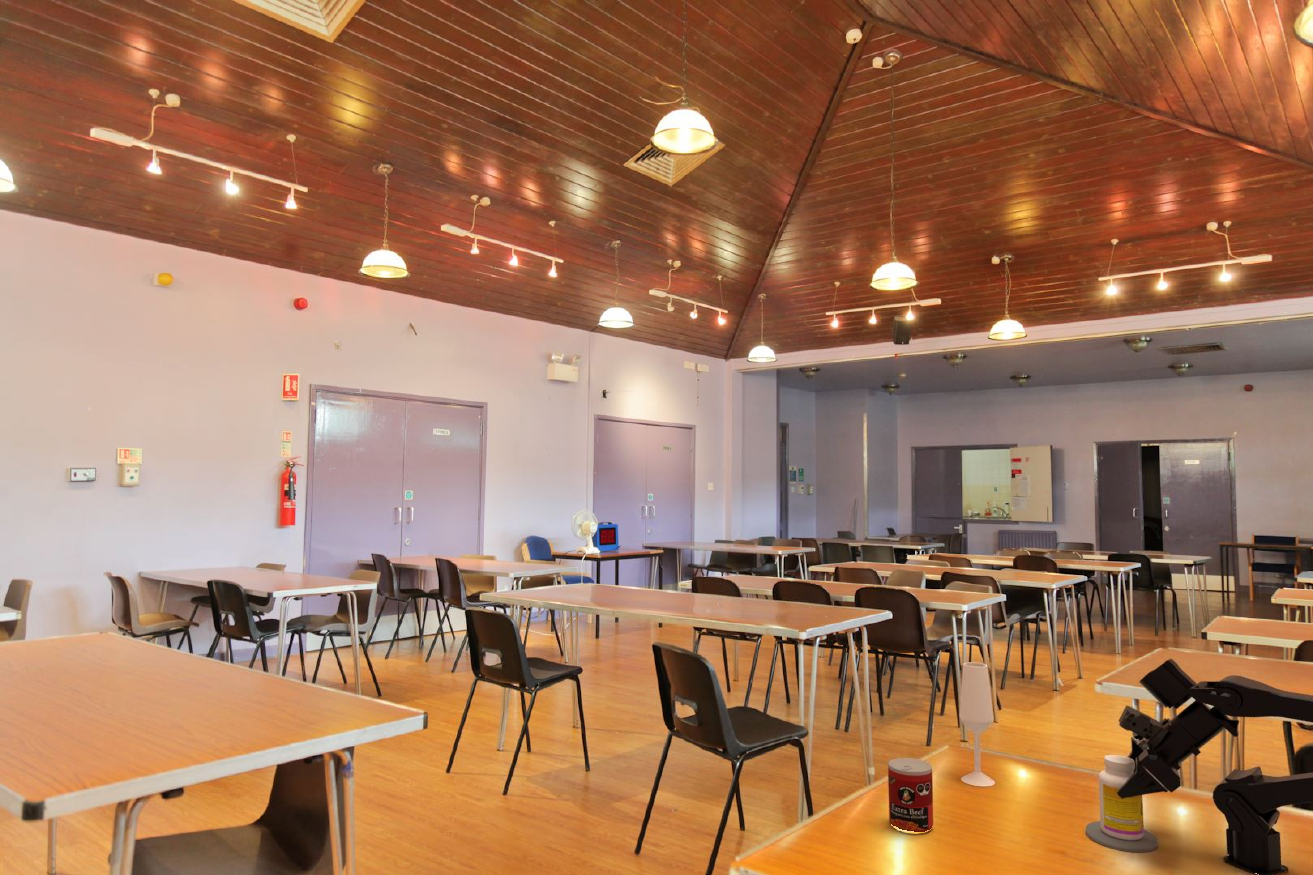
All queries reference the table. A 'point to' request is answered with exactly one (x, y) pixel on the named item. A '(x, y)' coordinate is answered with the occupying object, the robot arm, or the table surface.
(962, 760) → the table surface
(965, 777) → the champagne flute
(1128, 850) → the slate coaster
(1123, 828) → the supplement bottle
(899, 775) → the canned food
